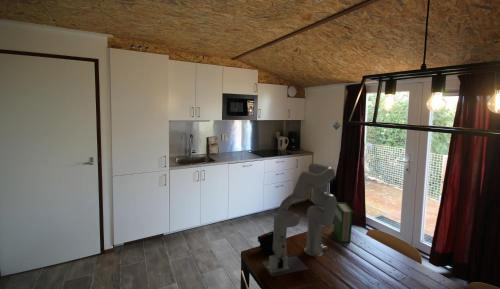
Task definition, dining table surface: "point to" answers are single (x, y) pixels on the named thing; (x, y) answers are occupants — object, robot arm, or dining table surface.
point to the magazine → (266, 242)
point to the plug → (274, 261)
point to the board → (293, 266)
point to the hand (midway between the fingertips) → (278, 264)
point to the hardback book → (343, 222)
